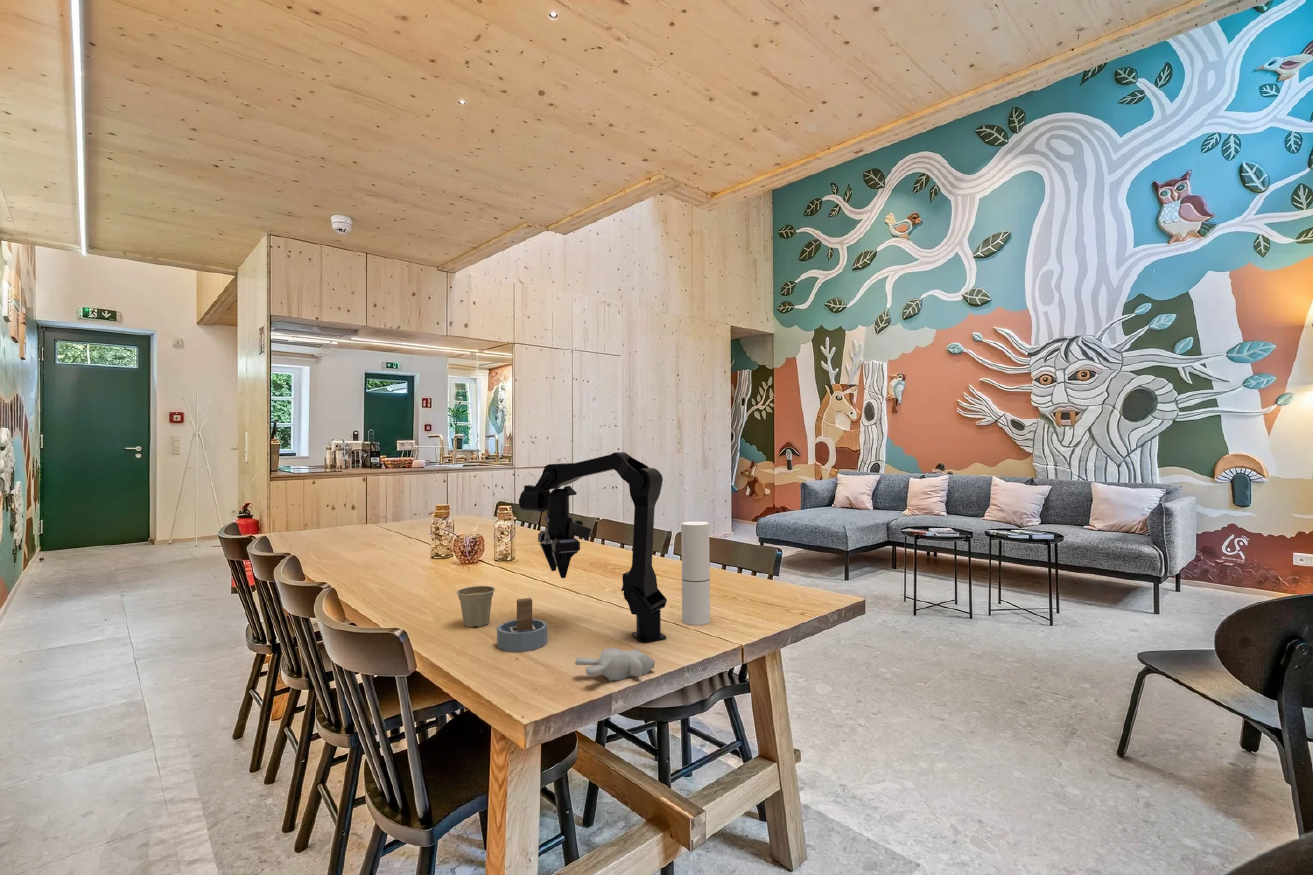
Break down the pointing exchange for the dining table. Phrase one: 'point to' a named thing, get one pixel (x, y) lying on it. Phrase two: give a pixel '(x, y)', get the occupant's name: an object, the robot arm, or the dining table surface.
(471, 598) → the flower pot
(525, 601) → the brown rectangular block
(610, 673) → the bunny figurine
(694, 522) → the cylindrical container
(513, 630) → the clip
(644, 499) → the robot arm
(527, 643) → the blue-grey round dish
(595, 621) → the dining table surface
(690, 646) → the dining table surface
